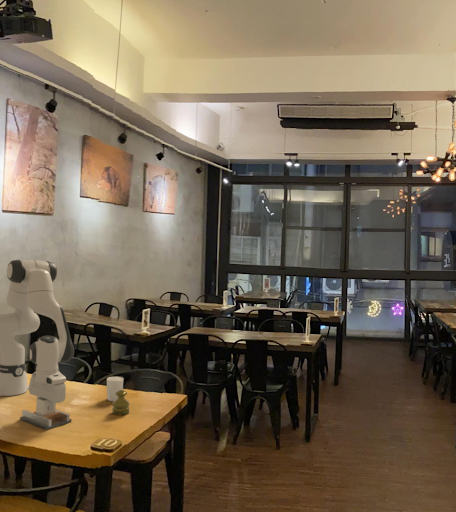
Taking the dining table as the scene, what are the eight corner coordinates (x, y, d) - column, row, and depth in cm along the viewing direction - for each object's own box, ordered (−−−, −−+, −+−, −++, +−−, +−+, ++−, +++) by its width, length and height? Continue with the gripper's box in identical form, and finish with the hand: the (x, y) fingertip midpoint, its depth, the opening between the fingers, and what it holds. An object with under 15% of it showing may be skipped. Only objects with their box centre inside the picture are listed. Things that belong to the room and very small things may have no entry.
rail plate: (19, 419, 202) (20, 411, 202) (45, 412, 212) (45, 404, 212) (46, 430, 192) (46, 421, 192) (71, 421, 202) (71, 413, 202)
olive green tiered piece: (118, 408, 220) (119, 387, 220) (132, 411, 217) (133, 389, 217) (108, 413, 213) (109, 391, 213) (123, 416, 210) (123, 393, 210)
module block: (36, 415, 201) (36, 398, 201) (48, 411, 206) (49, 395, 206) (42, 418, 198) (43, 400, 198) (55, 414, 203) (55, 397, 203)
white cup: (103, 398, 234) (103, 378, 234) (117, 395, 239) (118, 375, 239) (110, 403, 228) (111, 381, 228) (125, 400, 233) (126, 379, 233)
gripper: (25, 372, 205) (24, 405, 205) (55, 381, 193) (54, 416, 194) (38, 369, 210) (37, 401, 210) (68, 378, 199) (67, 412, 199)
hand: (45, 408), depth 202 cm, fingers closed on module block, 4 cm apart
